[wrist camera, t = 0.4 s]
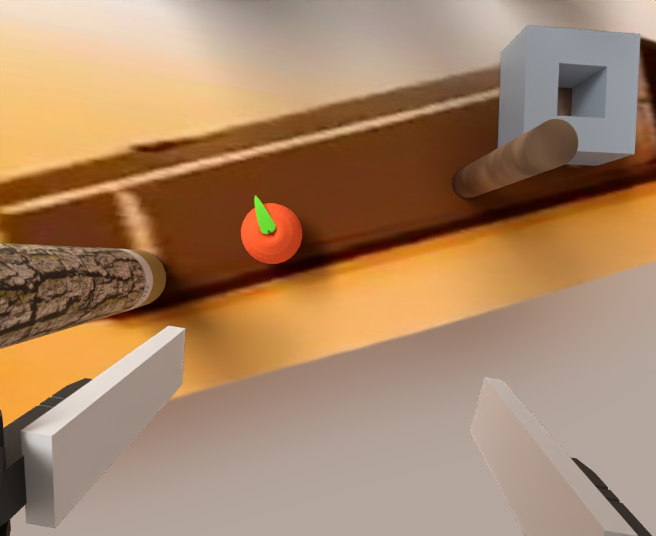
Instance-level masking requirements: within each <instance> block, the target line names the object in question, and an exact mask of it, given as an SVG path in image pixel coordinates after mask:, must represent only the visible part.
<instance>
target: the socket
mask: <svg viewBox="0 0 656 536" xmlns="http://www.w3.org/2000/svg"><path fill="white" fill-rule="evenodd" d="M639 53H640V34H633V33H621V32H608V31H595V30H583V29H570V28H557V27H545V26H532V25H527V26H526V27H525V28H524V29H523V30H522V32H521V33H520V34H519V35H518V36H517V37H516V38H515V39H514V40H513V41H512V42H511V43H510V44H509V45H508V46H507V47H506V48H505V49H504V50H503V51H502V52H501V72H500V100H499V129H498V148H499V147H501V146H503V145H505V144H506V143H508V142H510V141H512V140H514V139H515V138H517V137H519V136H521V135H522V134H524V133H526V132H528V131H530V130H531V129H533V128H535V127H537V126H538V125H540V124H542V123H544V122H546V121H548V120H551V119H561V120H564V121H566V122H568V123H569V124H571V126H572V127H573V128H574V129H575V131H576V133H577V136H578V149H577V152H576V154H575V156H574V158H573V159H572V160H571V161H570V162H569V163H567V164H568V165H591V166H598V165H601V164H604V163H607V162H611V161H614V160H617V159H620V158H623V157H627V156H630V155H633V154H635V137H636V116H637V95H638V74H639ZM558 88H572V104H571V116H558V115H557V102H558Z"/></svg>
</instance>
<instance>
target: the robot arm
mask: <svg viewBox="0 0 656 536" xmlns="http://www.w3.org/2000/svg"><path fill="white" fill-rule="evenodd" d="M185 329H186V328H180V327H174V326H167V327H166V328H164V329H163V330H162V331H160V332H159V333H157V334H156V335H155V336H153V337H152V338H150V339H149V340H148V341H146V342H145V343H143V344H142V345H141V346H139V347H138V348H136V349H135V350H134V351H132V352H131V353H129V354H128V355H126V356H125V357H124V358H122V359H121V360H119V361H118V362H117V363H115V364H114V365H112V366H111V367H110V368H108V369H107V370H105V371H104V372H103V373H101V374H100V375H98V376H97V377H96V378H94V379H87V378H85V379H82V380H80V381H77V382H75V383H72V384H70V385H67V386H66V387H64V388H63V389H61V390H60V391H58V392H57V393H55V394H54V395H52V397H51V398H50V397H49V398H48V399H46V400H45V401H43V402H42V403H40V405H39V406H36V407H34V408H33V409H31V410H30V411H28V412H27V413H25V414H24V415H22V416H21V417H19V418H18V419H16V420H15V421H13V422H12V423H10V424H9V425H7V426H6V427H4V428H3V420H2V413H1V410H0V536H10V531H11V526H10V519H11V518H12V517H13V515H15V514H16V513H17V512H18V511H19V510H20V509H21V508H22V507H23V506H24V505H25V509H26V523H28V524H35V525H40V526H46V527H51V528H56V527H57V526H58V525H59V523H60V522H61V521H62V520H63V519H64V517H66V515H67V514H68V513H69V512H70V511H71V510H72V509H73V508H74V506H75V505H76V504H77V503H78V502H79V501H80V499H81V498H82V497H83V496H84V495H85V494H86V493H87V492H88V491H89V489H90V488H91V487H92V486H93V485H94V484H95V483H96V482H97V480H98V479H99V478H100V477H101V476H102V475H103V474H104V473H105V471H106V470H107V469H108V468H109V467H110V466H111V465H112V463H113V462H114V461H115V460H116V459H117V458H118V457H119V456H120V454H121V453H122V452H123V451H124V450H125V449H126V448H127V446H128V445H129V444H130V443H131V442H132V441H133V440H134V439H135V437H136V436H137V435H138V434H139V433H140V432H141V431H142V430H143V428H144V427H145V426H146V425H147V424H148V423H149V422H150V420H151V419H152V418H153V417H154V416H155V415H156V413H158V411H159V410H160V409H161V408H162V407H163V406H164V405H165V403H166V402H167V401H168V400H169V399H170V398H171V397H172V396H173V394H174V393H175V392H176V391H177V390H178V389H179V388H180V386H181V385H182V381H183V363H184V346H185ZM469 432H470V434H471V436H472V438H473V440H474V442H475V444H476V445H477V447H478V449H479V451H480V453H481V455H482V457H483V459H484V460H485V462H486V464H487V466H488V468H489V470H490V471H491V473H492V476H493V477H494V479H495V481H496V483H497V485H498V487H499V489H500V490H501V492H502V494H503V496H504V498H505V500H506V502H507V504H508V506H509V507H510V509H511V511H512V513H513V515H514V517H515V519H516V521H517V522H518V524H519V526H520V528H521V530H522V532H523V534H524V536H652V535H651V534H650V533H649V532H648V531H647V530H646V529H645V528H644V527H643V525H642V524H641V523H640V522H639V521H638V520H637V519H636V518H635V517H634V516H633V514H632V513H631V512H630V511H629V510H628V509H627V508H626V507H625V506H624V505H623V504H622V503H620V502H619V499H618V498H617V497H616V496H615V495H614V494H613V493H612V492H611V490H608V487H607V486H606V485H605V484H604V483H603V481H602V480H601V479H600V478H599V477H598V476H597V475H596V474H595V473H594V472H593V471H592V470H591V469H589V468H588V467H587V466H585V465H584V464H583V463H581V462H580V461H579V460H577V459H576V458H570V457H569V456H568V455H567V453H566V452H565V451H564V450H563V449H562V448H561V446H560V445H559V444H558V443H557V442H556V441H555V440H554V438H553V437H552V436H551V435H550V434H549V433H548V431H547V430H546V429H545V428H544V427H543V426H542V425H541V423H540V422H539V421H538V420H537V419H536V418H535V417H534V415H533V414H532V413H531V412H530V411H529V410H528V408H527V407H526V406H525V405H524V404H523V403H522V402H521V400H520V399H519V398H518V397H517V396H516V395H515V393H514V392H513V391H512V390H511V389H510V388H509V387H508V385H507V384H506V383H505V382H504V381H503V380H501V379H495V378H489V377H485V378H484V381H483V385H482V388H481V392H480V395H479V399H478V403H477V406H476V410H475V413H474V417H473V421H472V424H471V428H470V431H469Z"/></svg>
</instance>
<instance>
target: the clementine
mask: <svg viewBox="0 0 656 536" xmlns="http://www.w3.org/2000/svg"><path fill="white" fill-rule="evenodd" d="M241 238H242V242H243V245H244V247H245V248H246V250H247V252H248V253H249V254H250V255H251V256H252V257H253V258H255V259H257V260H258V261H260V262H263V263H267V264H277V263H281V262H284V261H286V260H288V259H289V258H291V257H292V256H293V255H294V254H295V253H296V252H297V250H298V248H299V246H300V244H301V240H302V228H301V224H300V221H299V220H298V218H297V216H296V215H295V214H294V213H293V212H292V211H291V210H290V209H288V208H286V207H285V206H282V205H279V204H275V203H267V204H262V203H261V201H260V200H259V199H258V197H257V196H256V195H255V208H254V209H252V210H251V211H250V212H249V213H248V214H247V216H246V217H245V219H244V221H243V224H242V228H241Z"/></svg>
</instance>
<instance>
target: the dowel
mask: <svg viewBox="0 0 656 536" xmlns="http://www.w3.org/2000/svg"><path fill="white" fill-rule="evenodd" d="M577 149H578V136H577V133H576V131H575V129H574V128H573V127H572V126H571V124H569V123H568V122H566V121H564V120H561V119H551V120H548V121H546V122H544V123H542V124H540V125H538V126H537V127H535V128H533V129H531V130H530V131H528V132H526V133H524V134H522V135H521V136H519V137H517V138H515V139H514V140H512V141H510V142H508V143H506V144H505V145H503V146H501V147H499V148H498V149H496V150H494V151H492V152H490V153H489V154H487V155H485V156H483V157H482V158H480V159H478V160H476V161H474V162H473V163H471V164H469V165H467V166H466V167H464V168H462V169H460V170H459V171H457V172H456V174H455V175H454V177H453V181H452V185H453V189H454V191H455V193H456V194H457V195H458V196H460V197H462V198H466V199H469V198H473V197H476V196H478V195H481V194H484V193H487V192H490V191H492V190H495V189H498V188H501V187H504V186H506V185H509V184H512V183H515V182H518V181H520V180H523V179H526V178H529V177H532V176H535V175H537V174H540V173H543V172H546V171H549V170H551V169H554V168H557V167H560V166H563V165H565V164H567V163H569V162H570V161H571V160H572V159H573V158H574V156H575V154H576V152H577Z"/></svg>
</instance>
